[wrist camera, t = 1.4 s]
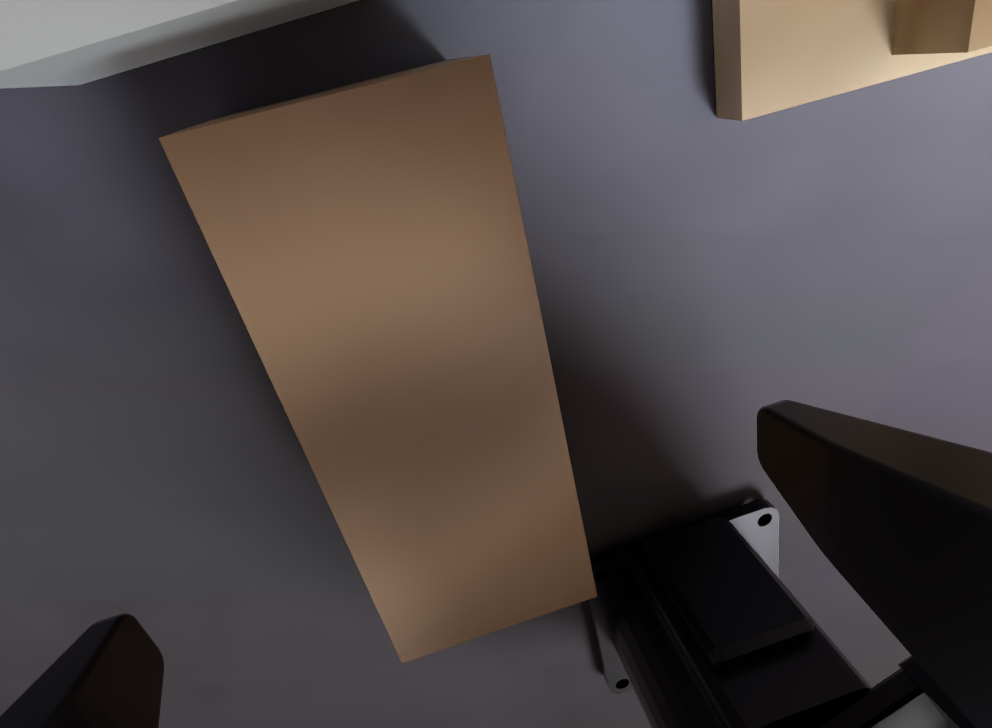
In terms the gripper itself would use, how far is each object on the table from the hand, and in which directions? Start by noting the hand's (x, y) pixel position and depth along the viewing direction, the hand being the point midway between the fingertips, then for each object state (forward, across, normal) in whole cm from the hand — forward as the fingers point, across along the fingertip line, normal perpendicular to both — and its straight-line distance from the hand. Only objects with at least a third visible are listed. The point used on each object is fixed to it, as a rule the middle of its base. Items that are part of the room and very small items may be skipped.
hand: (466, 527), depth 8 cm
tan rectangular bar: (+7, 0, 0) cm, 7 cm away
